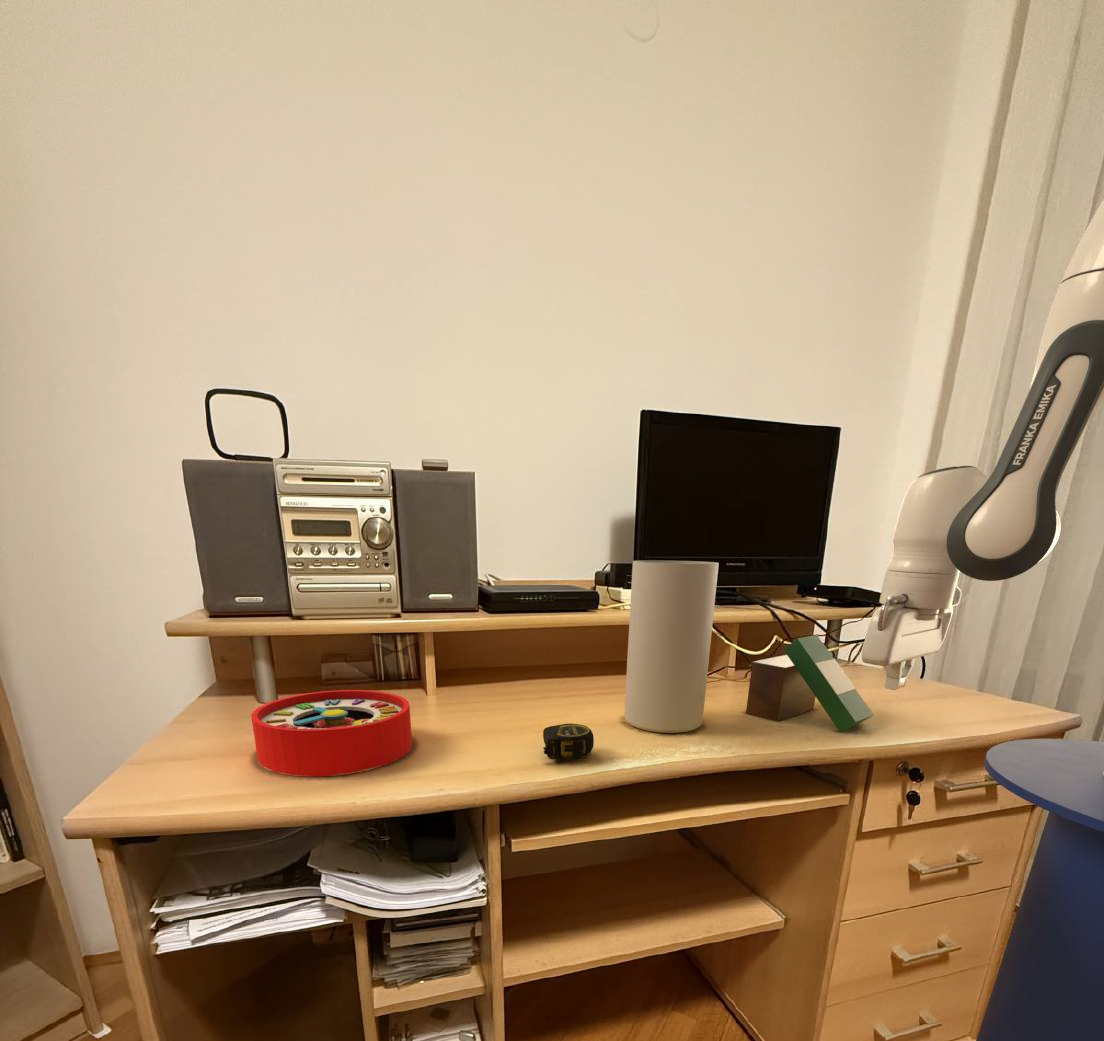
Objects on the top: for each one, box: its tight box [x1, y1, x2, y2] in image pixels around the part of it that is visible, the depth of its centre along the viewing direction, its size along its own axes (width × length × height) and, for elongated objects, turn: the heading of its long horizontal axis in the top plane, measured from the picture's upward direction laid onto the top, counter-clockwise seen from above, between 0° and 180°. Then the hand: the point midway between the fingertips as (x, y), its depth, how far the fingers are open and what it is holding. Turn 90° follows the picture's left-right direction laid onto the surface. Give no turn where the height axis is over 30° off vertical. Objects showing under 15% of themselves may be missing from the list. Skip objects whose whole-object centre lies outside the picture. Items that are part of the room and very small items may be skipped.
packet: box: [783, 634, 875, 732], centre depth 94 cm, size 13×6×13 cm, turn 40°
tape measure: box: [542, 723, 595, 760], centre depth 79 cm, size 7×7×4 cm
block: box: [745, 654, 816, 722], centre depth 100 cm, size 6×12×9 cm, turn 130°
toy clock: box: [250, 689, 413, 778], centre depth 79 cm, size 20×6×20 cm
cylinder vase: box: [623, 560, 720, 734], centre depth 90 cm, size 12×12×25 cm
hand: (894, 688), depth 87 cm, fingers closed
